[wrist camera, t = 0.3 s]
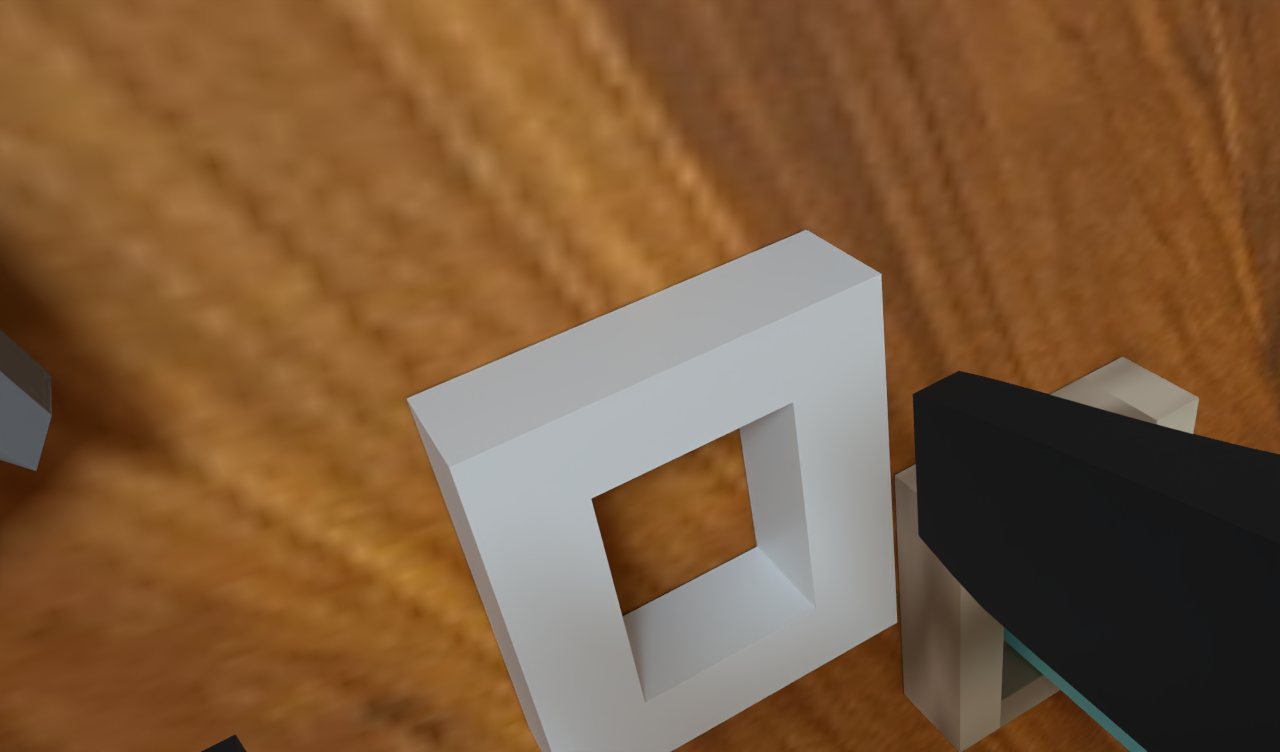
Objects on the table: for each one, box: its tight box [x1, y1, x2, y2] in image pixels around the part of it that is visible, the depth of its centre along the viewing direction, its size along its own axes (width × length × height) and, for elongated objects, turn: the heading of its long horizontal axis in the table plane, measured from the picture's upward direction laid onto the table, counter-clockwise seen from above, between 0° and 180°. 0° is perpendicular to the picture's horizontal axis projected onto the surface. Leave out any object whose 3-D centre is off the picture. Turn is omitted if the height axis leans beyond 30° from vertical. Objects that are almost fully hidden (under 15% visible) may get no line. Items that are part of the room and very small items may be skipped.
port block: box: [407, 230, 897, 752], centre depth 23 cm, size 10×9×2 cm
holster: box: [895, 357, 1199, 752], centre depth 30 cm, size 9×8×2 cm
